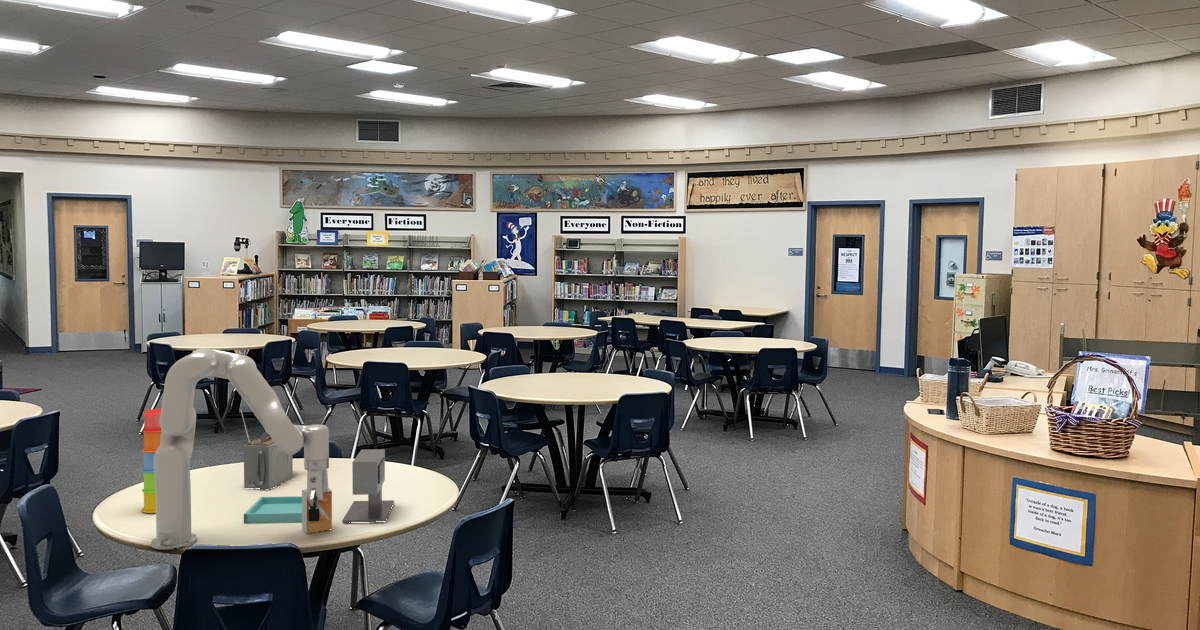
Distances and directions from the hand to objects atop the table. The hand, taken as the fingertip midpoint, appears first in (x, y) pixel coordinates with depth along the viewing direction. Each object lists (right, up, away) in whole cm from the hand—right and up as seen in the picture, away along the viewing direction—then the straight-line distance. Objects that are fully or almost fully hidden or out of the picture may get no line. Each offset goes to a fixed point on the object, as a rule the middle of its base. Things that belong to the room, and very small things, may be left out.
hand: (317, 516), depth 267 cm
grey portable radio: (-37, 0, +55) cm, 66 cm away
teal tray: (-16, -3, +16) cm, 23 cm away
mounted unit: (+12, -3, +18) cm, 22 cm away
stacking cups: (-61, -2, +18) cm, 63 cm away
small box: (0, -5, 0) cm, 5 cm away
